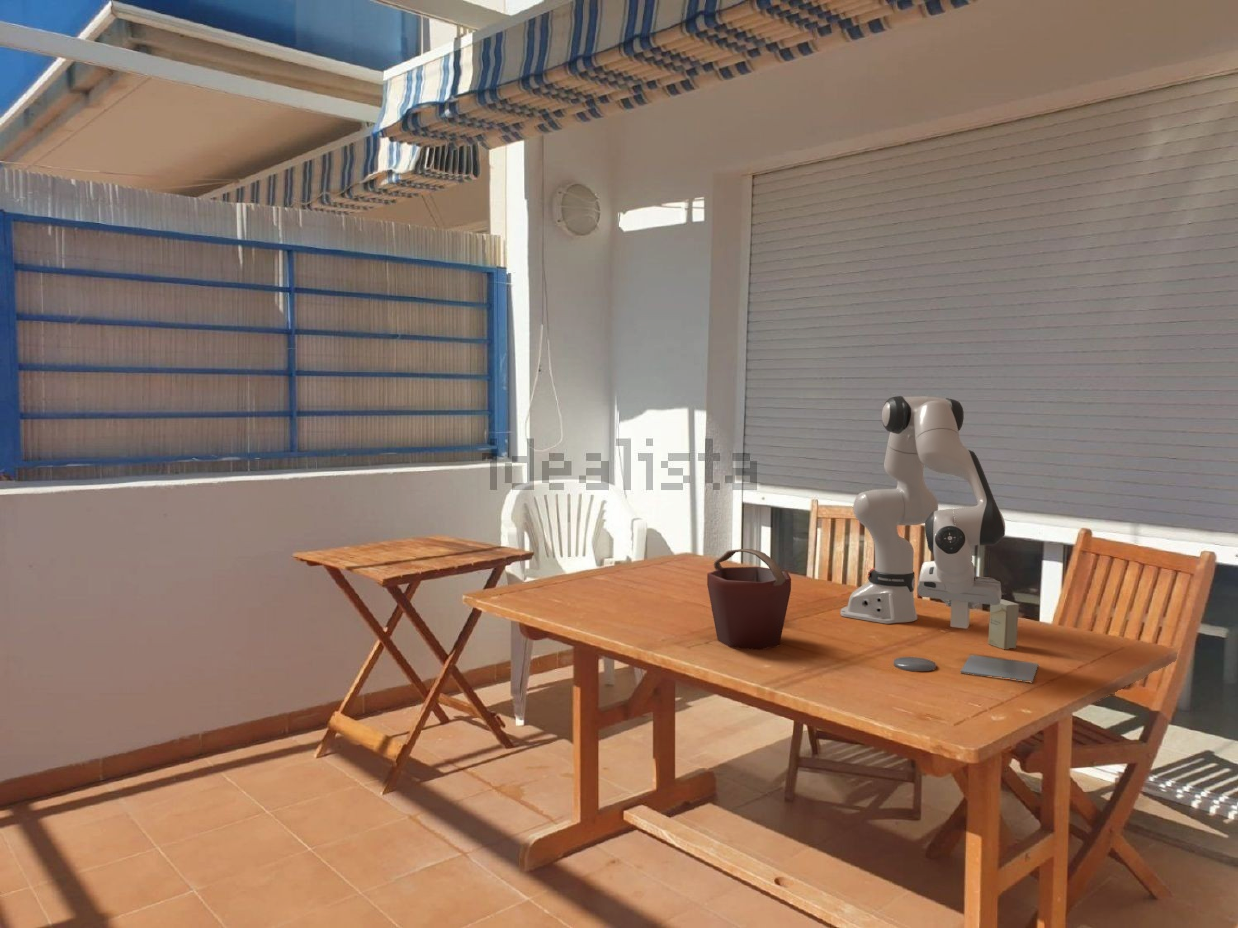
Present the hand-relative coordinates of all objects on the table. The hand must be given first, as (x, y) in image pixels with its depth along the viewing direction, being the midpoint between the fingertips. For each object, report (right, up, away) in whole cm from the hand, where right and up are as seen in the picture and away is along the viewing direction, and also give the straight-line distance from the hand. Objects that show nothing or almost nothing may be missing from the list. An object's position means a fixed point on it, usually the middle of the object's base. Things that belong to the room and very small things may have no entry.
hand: (960, 605), depth 244 cm
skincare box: (+14, -12, +7) cm, 20 cm away
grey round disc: (-16, -13, -11) cm, 23 cm away
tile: (+4, -14, -14) cm, 20 cm away
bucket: (-53, -12, +12) cm, 56 cm away
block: (0, -5, 0) cm, 5 cm away
